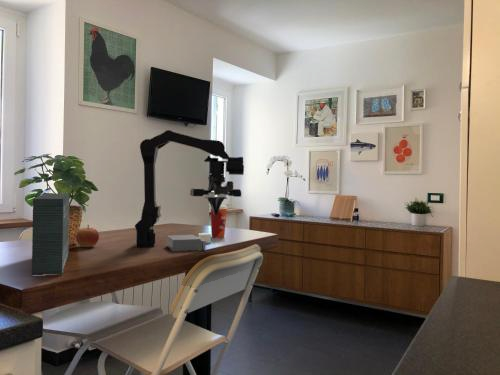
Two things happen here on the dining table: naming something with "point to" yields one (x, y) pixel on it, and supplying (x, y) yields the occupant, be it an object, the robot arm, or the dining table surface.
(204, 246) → the tray
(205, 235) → the riser
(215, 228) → the paper cup
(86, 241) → the apple
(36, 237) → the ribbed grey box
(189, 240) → the block
